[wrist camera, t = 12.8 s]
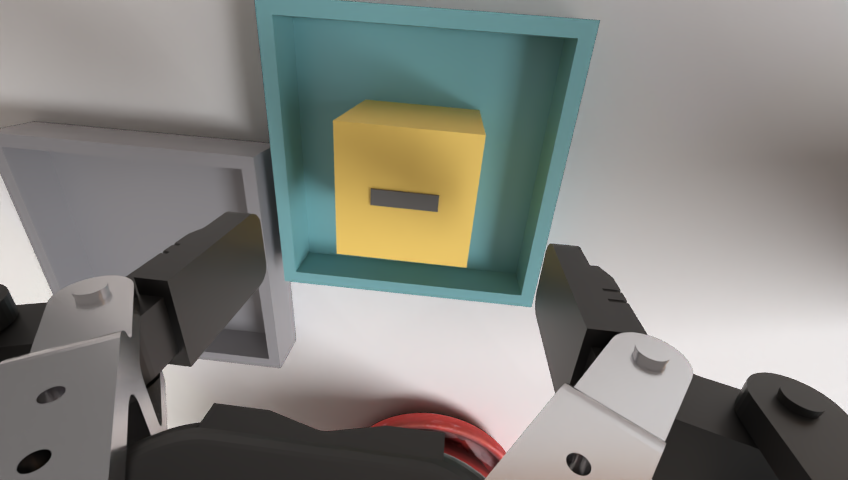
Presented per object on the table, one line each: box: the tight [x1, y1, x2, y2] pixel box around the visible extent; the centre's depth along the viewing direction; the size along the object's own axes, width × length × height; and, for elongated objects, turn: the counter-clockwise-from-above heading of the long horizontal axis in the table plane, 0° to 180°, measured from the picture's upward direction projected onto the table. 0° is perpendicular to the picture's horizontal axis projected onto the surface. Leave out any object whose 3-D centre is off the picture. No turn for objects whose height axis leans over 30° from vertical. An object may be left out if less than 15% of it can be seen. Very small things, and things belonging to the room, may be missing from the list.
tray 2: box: [255, 0, 600, 307], centre depth 18 cm, size 12×12×2 cm
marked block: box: [333, 100, 486, 268], centre depth 16 cm, size 5×5×5 cm
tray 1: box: [0, 122, 296, 368], centre depth 21 cm, size 12×12×2 cm
